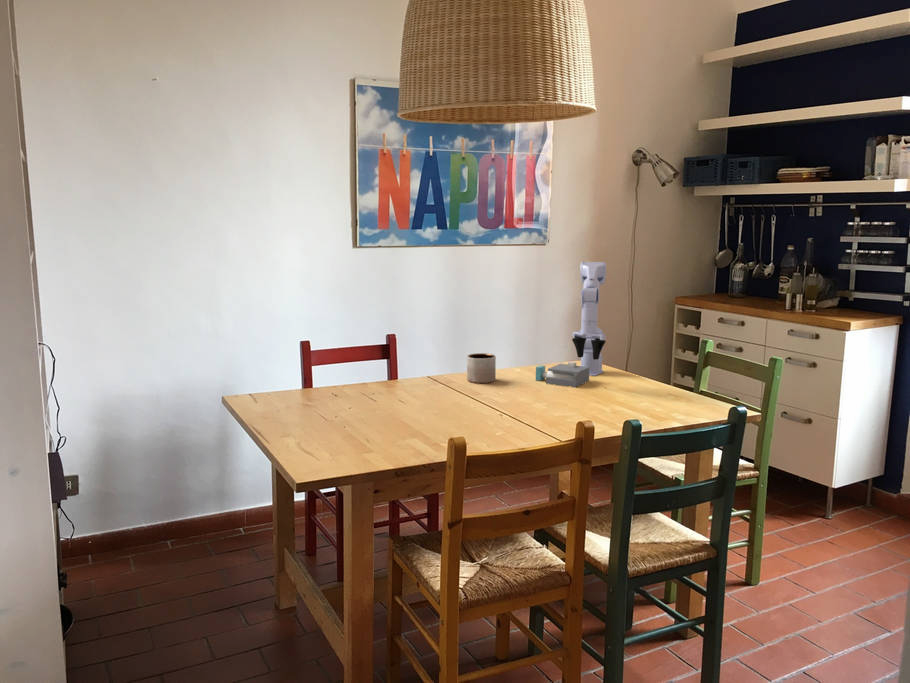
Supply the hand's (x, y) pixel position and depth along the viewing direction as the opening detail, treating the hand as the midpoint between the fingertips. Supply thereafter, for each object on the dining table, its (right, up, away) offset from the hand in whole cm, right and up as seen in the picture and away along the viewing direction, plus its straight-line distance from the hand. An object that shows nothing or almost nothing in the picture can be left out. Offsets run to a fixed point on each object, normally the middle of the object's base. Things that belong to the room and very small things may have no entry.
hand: (588, 358), depth 289 cm
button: (-4, -4, +12) cm, 13 cm away
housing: (-6, -9, +9) cm, 14 cm away
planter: (-38, -9, +12) cm, 41 cm away
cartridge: (-10, -9, +10) cm, 17 cm away
